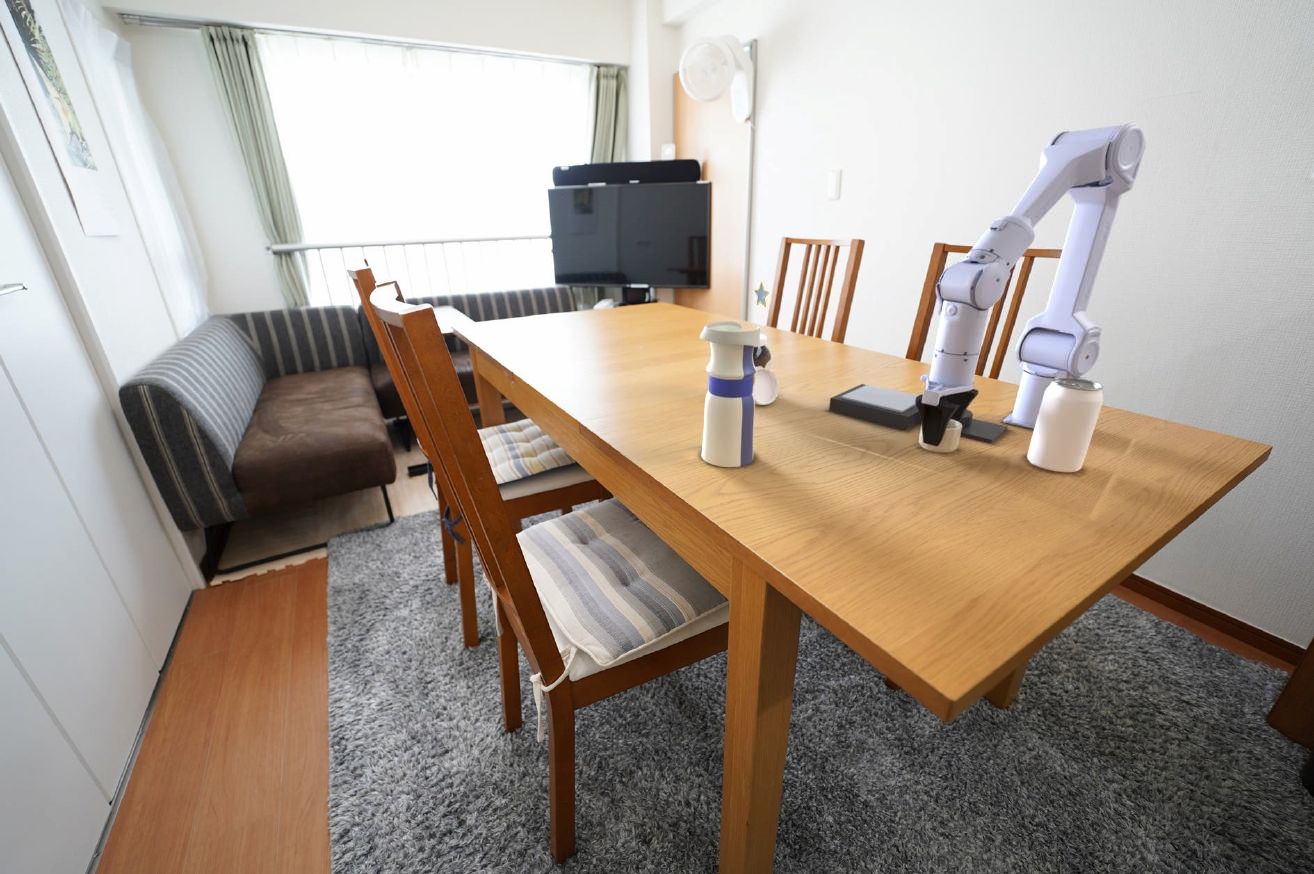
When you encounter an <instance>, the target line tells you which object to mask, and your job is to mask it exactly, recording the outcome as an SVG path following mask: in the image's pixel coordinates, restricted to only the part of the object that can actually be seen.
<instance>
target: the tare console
mask: <svg viewBox="0 0 1314 874" xmlns="http://www.w3.org/2000/svg"><path fill="white" fill-rule="evenodd" d="M960 423H961V424H962V430H961V435H960V437H964V438H969V439H973V440H976V441H980V442H984V443H989V444H992V443H994V442H995V441H996V440H997V439H999V437H1000V436H1002V435H1003V434H1004V433H1005V432H1006V431H1007V430H1008V426H1007V425H1003V424H999V423H994V422H990V421H985V420H981V419H977V418H974V413H973V412H972V411H971V410H969V409H968V408H967V409H966V411H965V413H964V415H963V417H962V419H961V421H960Z"/></svg>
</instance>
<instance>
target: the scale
mask: <svg viewBox="0 0 1314 874" xmlns="http://www.w3.org/2000/svg"><path fill="white" fill-rule="evenodd" d="M919 395H920V394H919ZM919 395H918V394H913V393H909V392H904V391H900V390H895V389H890V388H886V387H881V386H876V385H872V384H865V383H861V384H858V385H856V386H854V387H852V388H849V389H848V390H845V391H842V392H841V393H838V394H836V395H833V396H832V397H829V398H830V400H829V407H828V412H830V413H835V414H838V415H843V416H846V417H851V418H855V419H857V420H863V421H867V422H870V423H874V424H877V425H882V426H885V427H889V428H892V429H893V428H894V429H897V430H901V431H905V432H907V431H909V430H910V429H912V428H913V427H915V426H917V425H918V424H920V423H921V417H920V414H919V411H918V408H917V406H916V404H915V400H916V397H917V396H919Z"/></svg>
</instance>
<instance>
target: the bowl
mask: <svg viewBox="0 0 1314 874" xmlns="http://www.w3.org/2000/svg"><path fill="white" fill-rule="evenodd" d="M920 423H921V422H920ZM961 430H962V424H961V423H960V422H958V421H956V420H953V419H950V421H949V423H948V425H947V427H946V430H945V433H944V436H943V438H942V441H941V442H940V444H939V445H938V446H933V445H929V444H925V443H923V436H922V423H921V424H920V428H919V434H918V439H917V441H918V444H919V446H920V447H921V448H923V449H925V450H928V451H929V452H934V453H943V454H944V453H945V454H947V453H951V452H954V451H955V450H957V449H958V447H959V444H960V443H959V442H960V439H961V436H960V435H961Z"/></svg>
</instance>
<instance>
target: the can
mask: <svg viewBox="0 0 1314 874" xmlns="http://www.w3.org/2000/svg"><path fill="white" fill-rule="evenodd" d="M1103 389H1104V385H1103V384H1101V383H1099V382H1096V381H1093V380H1092V381H1089V380H1084V379H1077V378H1054V379H1052V383H1051V385H1050V386H1049V387H1048V388H1047V389H1046V390H1045V393H1044V396H1043V400H1042V403H1041V407H1040V410H1039V414H1038V418H1037V421H1036V425H1035V428H1034V429H1033V433H1032V436H1031V439H1030V444H1029V448H1028V451H1027V454H1026V458H1027V460H1028V461H1029V463H1031V464H1032V465H1033V466H1035V467H1037V468H1040V469H1042V470H1046V471H1049V472H1053V473H1054V472H1055V473H1060V474H1061V473H1062V474H1073V473H1077V472H1078V471H1080V470H1082V467H1083V465H1084V463H1085V459H1086V456H1087V453H1088V450H1089V447H1090V443H1091V440H1092V437H1093V436H1094V435H1093V434H1094V432H1095V428H1096V425H1097V422H1098V419H1099V416H1100V413H1101V409H1102V406H1103V403H1104V393H1103Z"/></svg>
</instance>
